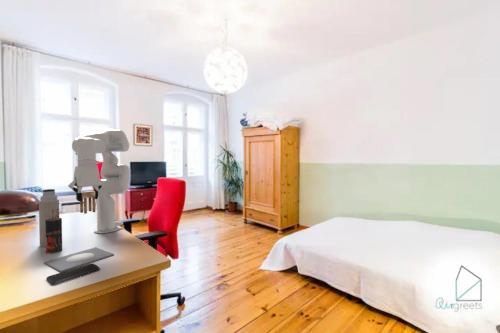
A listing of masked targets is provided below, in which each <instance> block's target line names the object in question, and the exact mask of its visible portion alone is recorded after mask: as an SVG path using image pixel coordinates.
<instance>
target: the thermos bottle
mask: <svg viewBox="0 0 500 333" xmlns="http://www.w3.org/2000/svg"><path fill="white" fill-rule="evenodd" d="M58 198H59V197H58V195H57V194H56V189H55V188H53V189H52V188H47V189H42V195H41V196H40V200H38V219H39V220H38V224H39V227H38V228H39V235H38V236H39V247H41V248H44V247H45V248H46V223H45V220H47V219H52V218H60V199H58Z"/></svg>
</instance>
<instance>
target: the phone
mask: <svg viewBox="0 0 500 333" xmlns="http://www.w3.org/2000/svg"><path fill="white" fill-rule="evenodd" d="M100 270H101V268H100V266H98V265H96V264H95V263H88V264H85V265H82V266H79V267H76V268H73V269H70V270H67V271H64V272H59V273H54V274H52V275H48V276H46V281H47V282H48V283H49V284H50V285H51V286H56V285H60V284H62V283H66V282H68V280H69V281H71V279H72V280H74V278H75V279H78V278H80V276H81V277H83V276H84V277H85V276H87V275H90V274H92V273H96V272H99V271H100ZM77 277H78V278H77ZM65 281H66V282H65Z"/></svg>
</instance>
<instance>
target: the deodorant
mask: <svg viewBox="0 0 500 333" xmlns="http://www.w3.org/2000/svg"><path fill="white" fill-rule="evenodd" d="M45 223H46V247H45V253H46V254H48V255H49V254H55V253H60V252H62V251H63V226H62V225H63V219H62V217H59V218H52V219H47V220H45Z"/></svg>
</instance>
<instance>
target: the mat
mask: <svg viewBox="0 0 500 333" xmlns="http://www.w3.org/2000/svg"><path fill="white" fill-rule="evenodd" d="M114 255H115V253H113V252H110V251H107V250H104V249H102V248H99V247H92V248H88V249H84V250H80V251H78V252H74V253H71V254H67V255H64V256H60V257H57V258H53V259H49V260H45V261H43V263H44V264H45V265H46V266H48V267H50V268H52V269H53V270H56V271H58V272H59V273H61V272H65V271H68V270H71V269H75V268H78V267H81V266H85V265H88V264H93V263H94V262H98V261H101V260H103V259H106V258H107V259H108V258H110V257H113V256H114Z"/></svg>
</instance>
